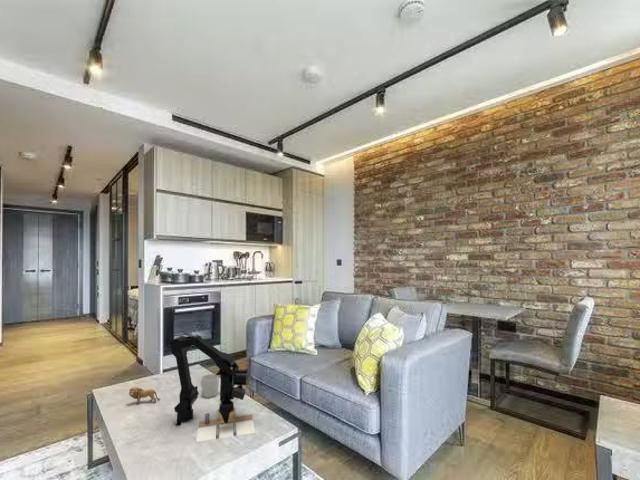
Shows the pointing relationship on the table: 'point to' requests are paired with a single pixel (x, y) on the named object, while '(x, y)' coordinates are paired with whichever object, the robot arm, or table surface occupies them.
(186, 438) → the table surface
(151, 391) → the lion figurine
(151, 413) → the table surface
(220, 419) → the bar
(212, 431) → the door board
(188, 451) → the table surface
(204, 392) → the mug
